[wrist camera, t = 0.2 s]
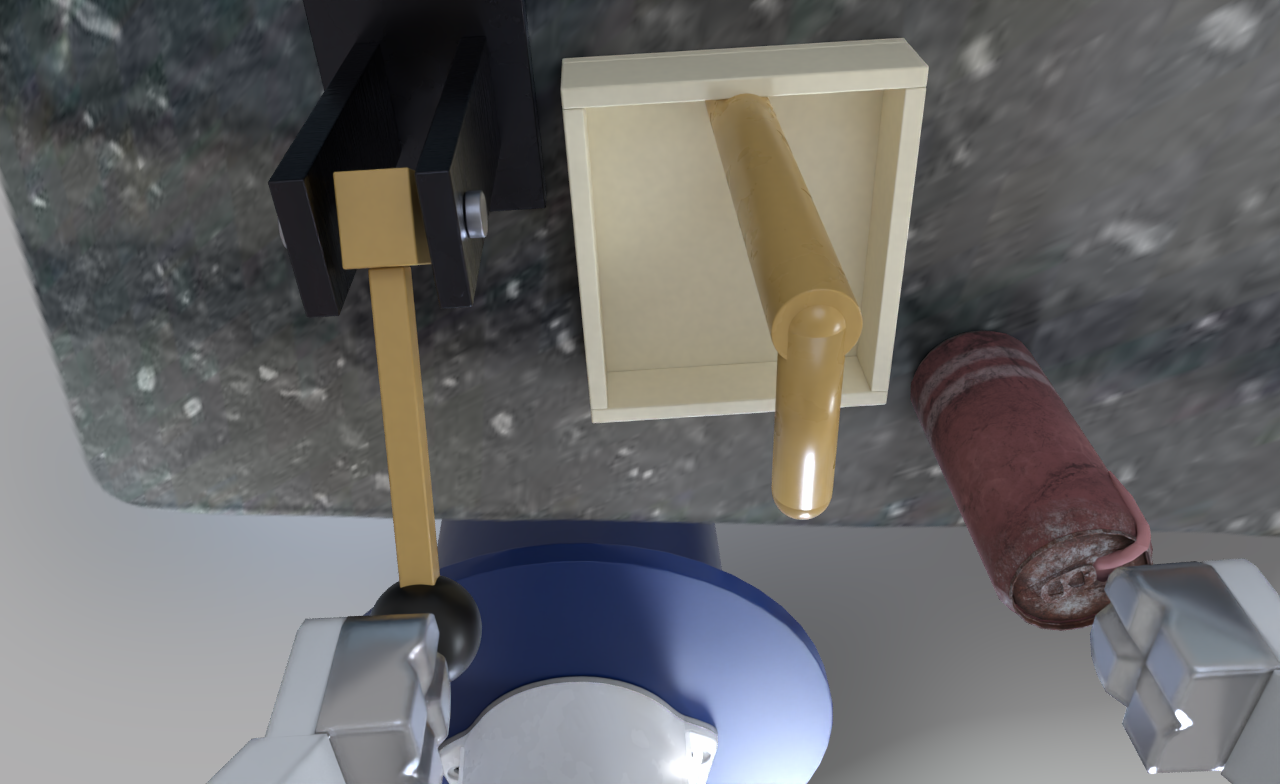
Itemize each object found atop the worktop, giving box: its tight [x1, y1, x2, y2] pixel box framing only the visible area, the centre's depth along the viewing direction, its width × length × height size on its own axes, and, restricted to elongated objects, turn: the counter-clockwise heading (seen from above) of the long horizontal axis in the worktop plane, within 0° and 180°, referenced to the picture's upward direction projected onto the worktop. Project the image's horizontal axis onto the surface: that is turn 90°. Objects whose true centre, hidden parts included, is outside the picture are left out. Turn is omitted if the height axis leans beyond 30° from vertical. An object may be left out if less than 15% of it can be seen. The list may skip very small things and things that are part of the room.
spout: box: [705, 94, 863, 520], centre depth 34 cm, size 8×2×18 cm, turn 3°
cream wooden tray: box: [560, 38, 929, 423], centre depth 42 cm, size 16×14×4 cm
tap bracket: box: [268, 0, 546, 318], centre depth 34 cm, size 10×8×14 cm
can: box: [910, 330, 1153, 631], centre depth 43 cm, size 6×6×14 cm
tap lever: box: [333, 167, 482, 682], centre depth 31 cm, size 16×4×4 cm, turn 2°
